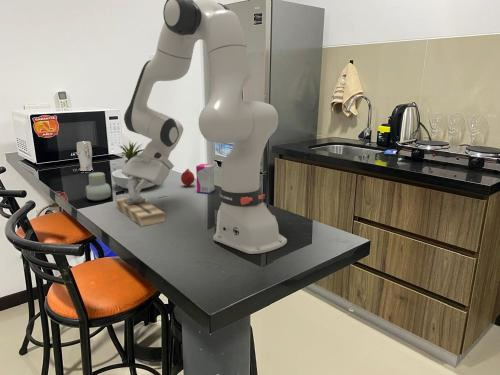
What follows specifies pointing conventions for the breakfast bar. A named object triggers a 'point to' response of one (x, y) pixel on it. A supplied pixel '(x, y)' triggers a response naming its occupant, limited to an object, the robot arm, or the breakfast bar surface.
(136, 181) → the grey upright piece
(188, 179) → the onion
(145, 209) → the tan flat bar
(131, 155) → the house plant
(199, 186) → the supplement box
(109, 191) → the air freshener
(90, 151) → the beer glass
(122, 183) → the serving bowl
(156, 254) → the breakfast bar surface
